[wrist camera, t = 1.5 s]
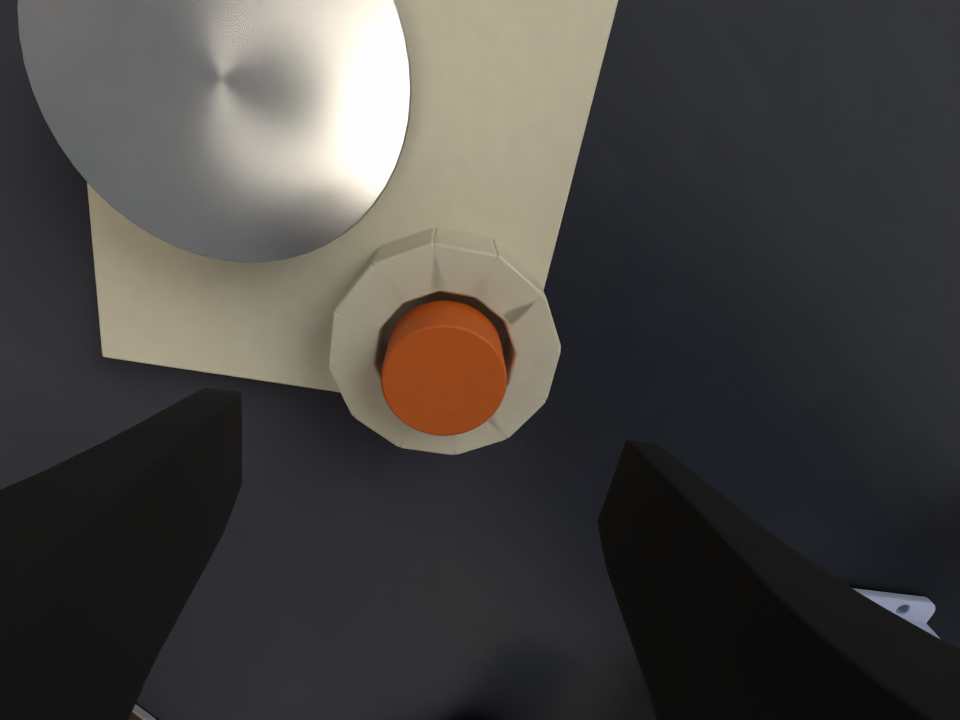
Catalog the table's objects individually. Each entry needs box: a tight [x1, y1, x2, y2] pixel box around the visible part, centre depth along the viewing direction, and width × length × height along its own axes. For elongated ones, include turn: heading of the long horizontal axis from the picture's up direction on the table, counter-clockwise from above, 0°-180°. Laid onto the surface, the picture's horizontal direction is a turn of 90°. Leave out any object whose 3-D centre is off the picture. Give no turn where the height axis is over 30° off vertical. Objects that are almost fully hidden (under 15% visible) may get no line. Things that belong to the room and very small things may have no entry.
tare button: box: [381, 300, 507, 436], centre depth 14 cm, size 3×3×2 cm
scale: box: [87, 0, 618, 455], centre depth 14 cm, size 12×12×3 cm
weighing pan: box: [17, 0, 412, 263], centre depth 11 cm, size 8×8×1 cm
